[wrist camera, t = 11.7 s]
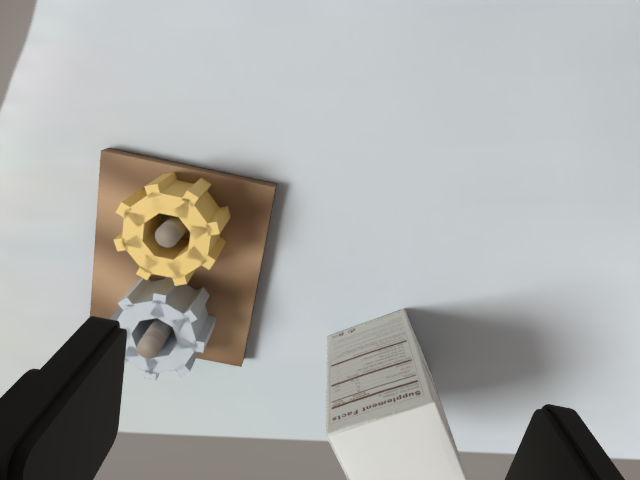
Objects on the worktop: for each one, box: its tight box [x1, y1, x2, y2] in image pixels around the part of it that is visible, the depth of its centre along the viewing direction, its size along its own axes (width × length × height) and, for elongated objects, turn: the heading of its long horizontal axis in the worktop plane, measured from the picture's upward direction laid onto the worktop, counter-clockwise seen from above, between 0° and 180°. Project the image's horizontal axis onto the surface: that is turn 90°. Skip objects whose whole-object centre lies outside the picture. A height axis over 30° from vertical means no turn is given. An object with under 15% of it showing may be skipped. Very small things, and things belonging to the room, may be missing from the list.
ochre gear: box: [113, 172, 230, 286], centre depth 36 cm, size 7×7×4 cm
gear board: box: [90, 148, 277, 367], centre depth 37 cm, size 16×13×7 cm
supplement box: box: [326, 309, 467, 480], centre depth 37 cm, size 7×7×13 cm
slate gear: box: [110, 277, 216, 380], centre depth 39 cm, size 7×7×4 cm
